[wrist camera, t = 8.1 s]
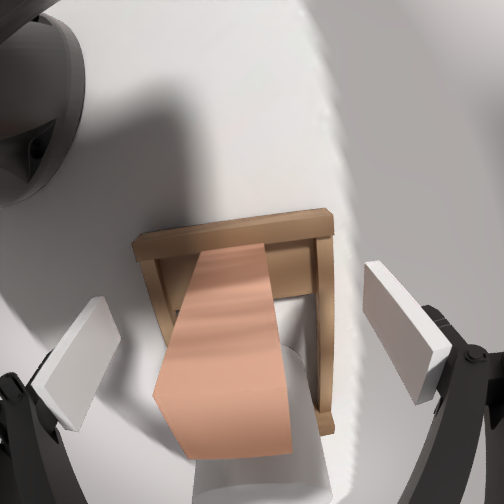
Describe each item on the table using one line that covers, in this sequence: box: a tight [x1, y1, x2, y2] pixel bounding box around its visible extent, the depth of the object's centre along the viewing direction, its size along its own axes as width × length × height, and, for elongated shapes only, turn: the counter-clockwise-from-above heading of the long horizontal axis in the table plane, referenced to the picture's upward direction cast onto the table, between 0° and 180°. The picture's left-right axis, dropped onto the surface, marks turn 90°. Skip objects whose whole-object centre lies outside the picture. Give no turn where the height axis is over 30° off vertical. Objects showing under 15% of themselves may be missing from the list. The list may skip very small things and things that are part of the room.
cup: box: [192, 344, 333, 504], centre depth 18 cm, size 8×8×12 cm
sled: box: [132, 208, 335, 459], centre depth 16 cm, size 19×12×13 cm, turn 8°
